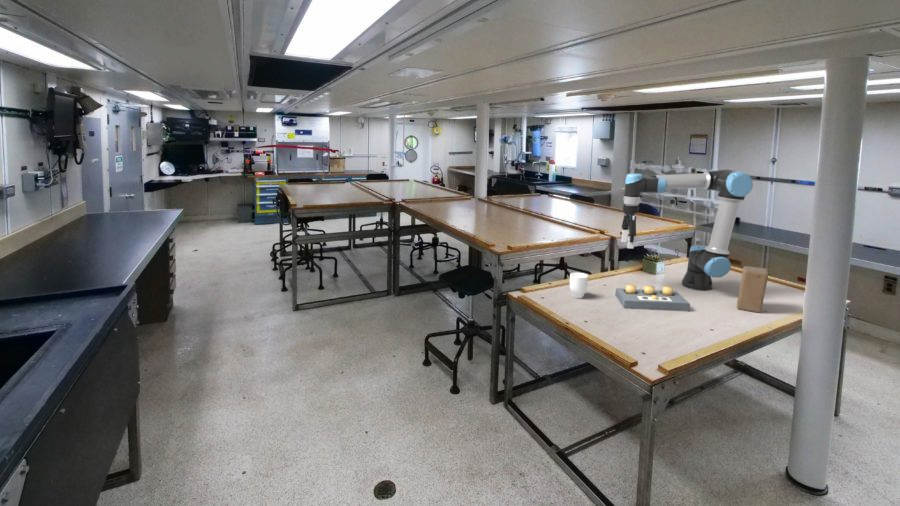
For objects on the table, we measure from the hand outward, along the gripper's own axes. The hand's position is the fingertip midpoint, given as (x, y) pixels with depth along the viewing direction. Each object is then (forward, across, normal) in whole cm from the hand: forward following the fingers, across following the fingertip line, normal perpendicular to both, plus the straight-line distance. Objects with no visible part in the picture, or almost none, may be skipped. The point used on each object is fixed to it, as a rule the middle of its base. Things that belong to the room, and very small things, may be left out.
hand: (627, 245), depth 241 cm
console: (+26, +15, +10) cm, 32 cm away
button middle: (+23, +11, +10) cm, 27 cm away
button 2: (+23, +11, +19) cm, 32 cm away
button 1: (+23, +11, +1) cm, 26 cm away
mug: (+26, +10, -26) cm, 38 cm away
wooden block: (+27, +15, +56) cm, 64 cm away
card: (+22, +20, +10) cm, 31 cm away
